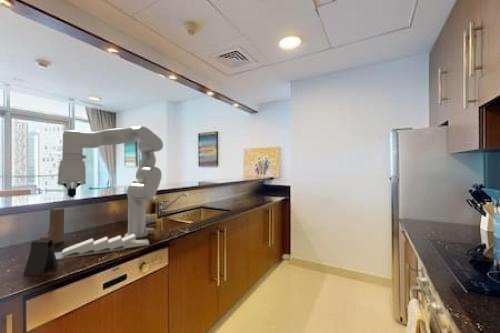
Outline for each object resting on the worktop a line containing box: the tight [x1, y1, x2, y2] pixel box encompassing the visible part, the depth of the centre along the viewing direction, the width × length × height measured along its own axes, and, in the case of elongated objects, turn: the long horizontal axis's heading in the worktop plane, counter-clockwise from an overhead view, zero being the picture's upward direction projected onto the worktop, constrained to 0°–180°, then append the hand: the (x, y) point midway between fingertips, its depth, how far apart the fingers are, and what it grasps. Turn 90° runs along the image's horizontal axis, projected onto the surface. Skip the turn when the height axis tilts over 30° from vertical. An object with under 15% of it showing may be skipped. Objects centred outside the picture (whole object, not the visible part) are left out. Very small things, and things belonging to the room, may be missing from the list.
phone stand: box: [22, 239, 59, 277], centre depth 93 cm, size 9×6×12 cm, turn 1°
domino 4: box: [110, 234, 137, 250], centre depth 122 cm, size 2×6×12 cm
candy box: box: [145, 213, 158, 228], centre depth 165 cm, size 16×2×8 cm, turn 137°
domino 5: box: [123, 238, 150, 249], centre depth 126 cm, size 2×6×12 cm
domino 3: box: [94, 235, 123, 252], centre depth 119 cm, size 2×6×12 cm
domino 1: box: [61, 238, 95, 257], centre depth 112 cm, size 2×6×12 cm
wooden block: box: [39, 207, 65, 245], centre depth 126 cm, size 9×4×18 cm, turn 167°
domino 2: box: [79, 236, 109, 254], centre depth 116 cm, size 2×6×12 cm
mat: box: [54, 245, 126, 260], centre depth 115 cm, size 30×10×1 cm, turn 122°
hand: (71, 197), depth 111 cm, fingers closed
